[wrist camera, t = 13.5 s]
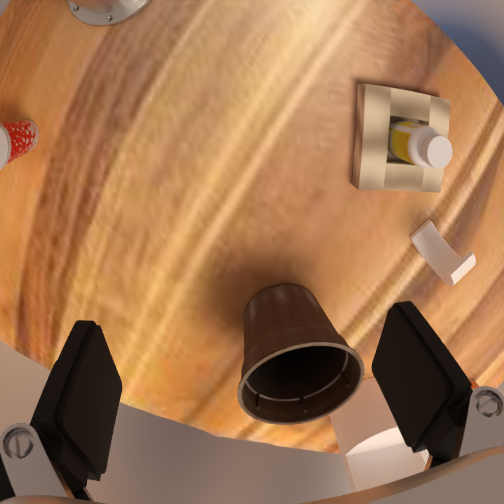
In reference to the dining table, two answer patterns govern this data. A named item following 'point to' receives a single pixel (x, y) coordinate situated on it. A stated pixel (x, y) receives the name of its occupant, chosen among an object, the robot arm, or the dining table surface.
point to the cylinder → (372, 440)
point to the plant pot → (294, 359)
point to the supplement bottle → (419, 144)
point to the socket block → (377, 133)
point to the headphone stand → (441, 254)
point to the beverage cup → (17, 140)
